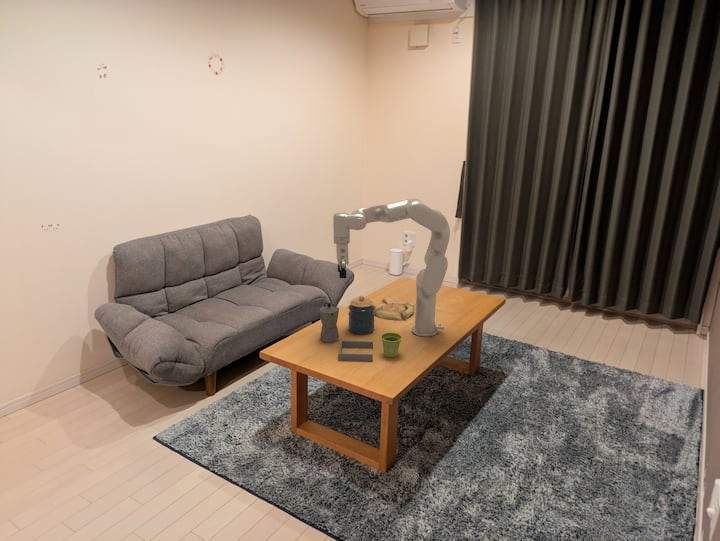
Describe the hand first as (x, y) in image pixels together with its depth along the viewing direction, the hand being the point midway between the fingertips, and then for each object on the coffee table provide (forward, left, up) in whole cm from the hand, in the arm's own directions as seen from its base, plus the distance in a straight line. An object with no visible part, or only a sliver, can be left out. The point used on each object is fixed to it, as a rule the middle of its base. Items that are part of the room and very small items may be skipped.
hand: (342, 275), depth 242 cm
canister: (-9, -4, -30) cm, 31 cm away
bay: (-8, +23, -29) cm, 38 cm away
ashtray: (-26, -28, -30) cm, 49 cm away
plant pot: (-23, +23, -30) cm, 44 cm away
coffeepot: (+6, +7, -30) cm, 31 cm away
